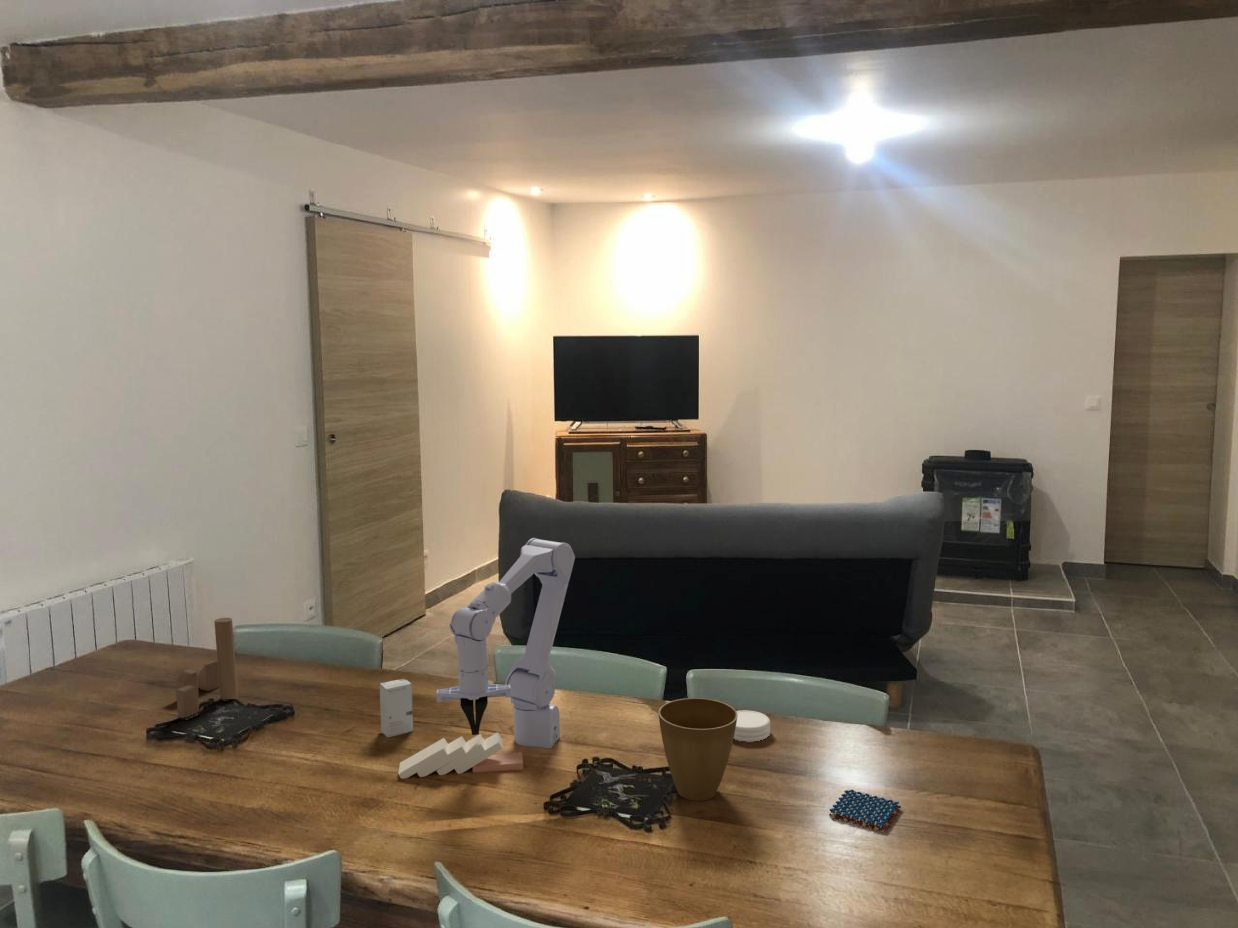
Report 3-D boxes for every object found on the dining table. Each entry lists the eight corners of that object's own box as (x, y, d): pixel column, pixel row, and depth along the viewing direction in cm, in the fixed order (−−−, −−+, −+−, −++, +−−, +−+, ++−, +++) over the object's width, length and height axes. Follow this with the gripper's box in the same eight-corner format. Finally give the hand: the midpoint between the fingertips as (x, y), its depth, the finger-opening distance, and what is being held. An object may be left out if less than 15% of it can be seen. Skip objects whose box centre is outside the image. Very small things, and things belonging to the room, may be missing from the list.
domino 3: (441, 765, 189) (484, 739, 189) (440, 776, 184) (484, 750, 184) (437, 759, 188) (480, 733, 189) (436, 770, 183) (480, 743, 184)
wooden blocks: (204, 681, 240) (198, 606, 237) (250, 697, 229) (245, 618, 226) (139, 703, 226) (132, 623, 223) (186, 721, 215) (179, 637, 212)
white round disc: (718, 739, 201) (719, 723, 201) (730, 721, 210) (730, 706, 210) (764, 746, 198) (764, 730, 197) (774, 728, 207) (774, 713, 206)
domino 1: (404, 768, 187) (448, 743, 188) (402, 780, 182) (447, 754, 183) (400, 762, 187) (444, 737, 188) (398, 773, 182) (443, 748, 183)
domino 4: (458, 763, 189) (501, 738, 190) (458, 774, 184) (502, 748, 185) (454, 757, 189) (497, 731, 189) (454, 768, 184) (498, 742, 185)
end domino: (472, 763, 189) (522, 759, 191) (472, 774, 184) (523, 770, 186) (472, 755, 189) (521, 751, 191) (472, 766, 184) (523, 762, 186)
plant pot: (685, 818, 168) (684, 734, 166) (645, 784, 181) (644, 706, 179) (752, 799, 175) (753, 718, 173) (709, 767, 188) (709, 691, 186)
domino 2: (422, 767, 188) (465, 742, 189) (420, 778, 183) (465, 752, 184) (418, 760, 188) (461, 735, 188) (416, 772, 183) (461, 746, 183)
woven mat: (886, 836, 162) (886, 825, 162) (827, 820, 168) (827, 810, 167) (903, 810, 171) (903, 800, 170) (846, 796, 176) (846, 786, 176)
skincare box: (387, 743, 201) (385, 689, 200) (380, 735, 205) (378, 683, 203) (414, 736, 205) (412, 683, 203) (407, 729, 208) (405, 677, 207)
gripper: (434, 677, 179) (437, 744, 181) (510, 672, 181) (512, 738, 183) (436, 664, 186) (439, 729, 188) (509, 659, 188) (511, 723, 190)
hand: (475, 732), depth 186 cm, fingers closed
